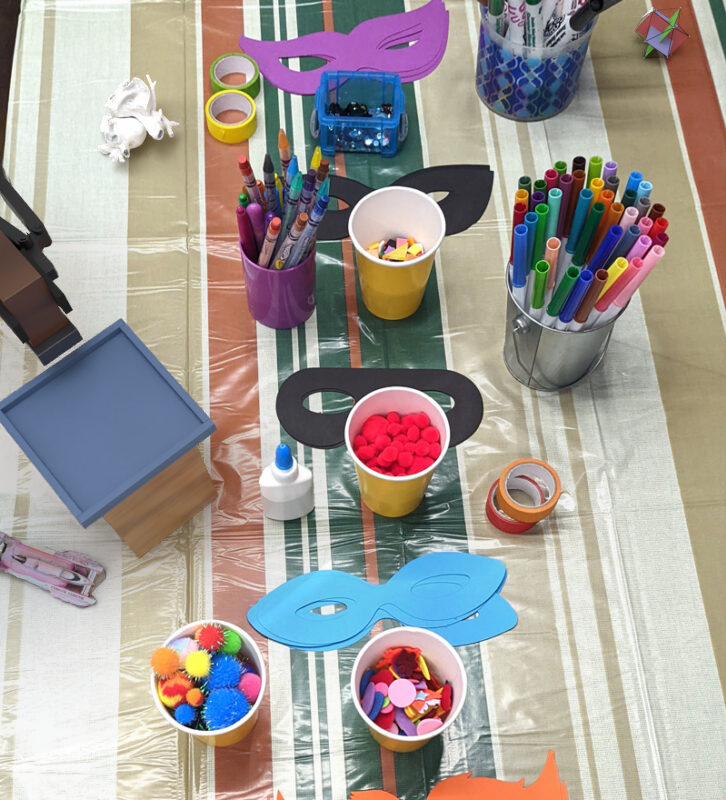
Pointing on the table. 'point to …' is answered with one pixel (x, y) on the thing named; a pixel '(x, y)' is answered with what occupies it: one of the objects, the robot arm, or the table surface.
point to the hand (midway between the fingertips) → (43, 318)
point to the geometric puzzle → (661, 32)
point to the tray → (103, 422)
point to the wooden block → (163, 503)
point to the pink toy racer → (52, 569)
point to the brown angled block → (34, 306)
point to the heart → (132, 119)
